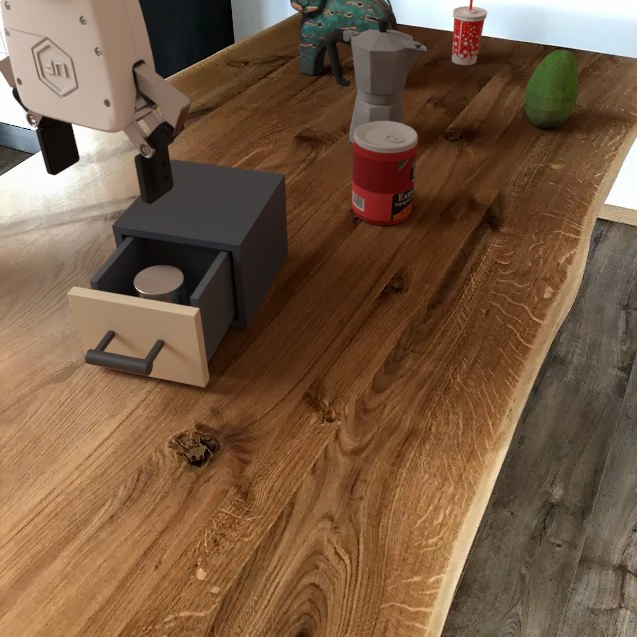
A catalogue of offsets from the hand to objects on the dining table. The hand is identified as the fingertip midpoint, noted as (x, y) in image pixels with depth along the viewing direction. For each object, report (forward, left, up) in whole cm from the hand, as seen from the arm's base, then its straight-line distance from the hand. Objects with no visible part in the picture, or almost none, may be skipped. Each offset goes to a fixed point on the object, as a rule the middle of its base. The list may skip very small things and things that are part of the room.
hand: (110, 181), depth 59 cm
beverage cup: (+76, +59, -22) cm, 98 cm away
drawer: (+2, +3, -21) cm, 21 cm away
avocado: (+72, +30, -22) cm, 81 cm away
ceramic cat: (+52, +61, -22) cm, 83 cm away
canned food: (+36, +18, -22) cm, 46 cm away
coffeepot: (+45, +38, -22) cm, 63 cm away
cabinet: (+11, +13, -22) cm, 27 cm away
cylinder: (+3, +4, -20) cm, 20 cm away
